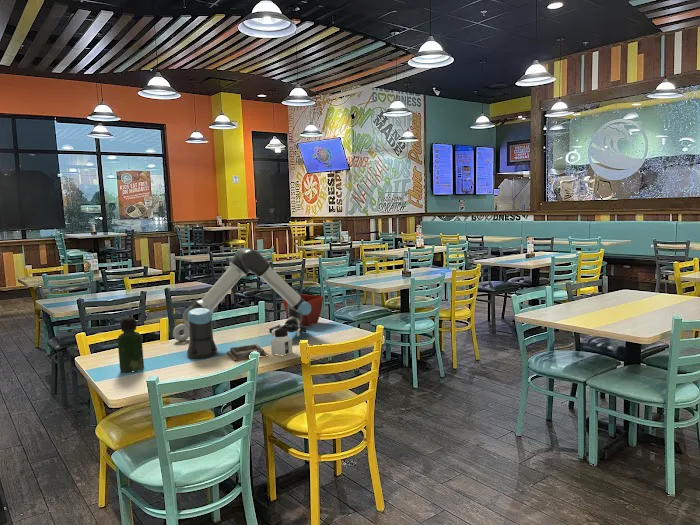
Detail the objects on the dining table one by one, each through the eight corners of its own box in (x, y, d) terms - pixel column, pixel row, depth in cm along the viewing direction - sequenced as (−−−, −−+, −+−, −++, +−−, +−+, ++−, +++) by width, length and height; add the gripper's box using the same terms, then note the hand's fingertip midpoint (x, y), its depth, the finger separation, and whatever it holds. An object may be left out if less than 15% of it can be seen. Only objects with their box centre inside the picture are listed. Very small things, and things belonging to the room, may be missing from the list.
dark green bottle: (148, 368, 242) (143, 317, 240) (126, 374, 235) (121, 321, 232) (137, 364, 249) (133, 314, 247) (116, 370, 242) (111, 319, 239)
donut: (174, 343, 288) (173, 326, 287) (172, 342, 291) (171, 324, 290) (192, 340, 294) (190, 323, 293) (190, 338, 297) (188, 322, 295)
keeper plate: (234, 361, 249) (234, 355, 249) (226, 353, 264) (226, 347, 264) (268, 356, 257) (267, 350, 256) (258, 348, 272) (258, 342, 271)
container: (292, 352, 262) (291, 327, 260) (283, 356, 255) (282, 331, 254) (280, 350, 266) (279, 326, 264) (271, 354, 259) (270, 329, 258)
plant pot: (307, 328, 312) (306, 301, 310) (283, 325, 322) (281, 299, 320) (325, 321, 328) (324, 296, 326) (301, 319, 338) (300, 294, 336)
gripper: (314, 330, 290) (308, 340, 269) (270, 331, 291) (262, 341, 270) (313, 317, 289) (308, 326, 268) (270, 318, 291) (261, 327, 270)
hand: (285, 334), depth 269 cm, fingers open, 13 cm apart
